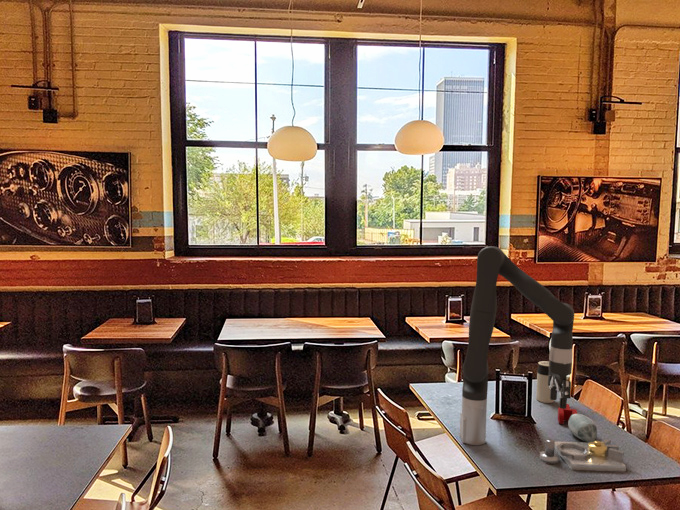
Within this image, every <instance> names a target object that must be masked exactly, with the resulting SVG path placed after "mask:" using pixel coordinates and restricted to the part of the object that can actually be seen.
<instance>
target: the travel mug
mask: <svg viewBox="0 0 680 510" xmlns="http://www.w3.org/2000/svg"><path fill="white" fill-rule="evenodd" d="M537 363H538V368H537V372H536V373H537V374H536V392H535V393H536V395H535V399H536V401H538V402H541V403H544V404H552V403H555V400H551V399H550V386H548V375H549V361H545V360H544V361H543V360H542V361H539V362H537Z"/></svg>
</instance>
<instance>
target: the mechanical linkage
mask: <svg viewBox="0 0 680 510" xmlns="http://www.w3.org/2000/svg"><path fill="white" fill-rule="evenodd" d="M573 414H579V413H578V411H577V409H574V408H571V406H570V403H567V406H566V409H561V408H560V407H559V406H558V408H557V421H558V424H559V425H564V424H565V421H566V422H568V421H569V418H570V417H571V415H573Z"/></svg>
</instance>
